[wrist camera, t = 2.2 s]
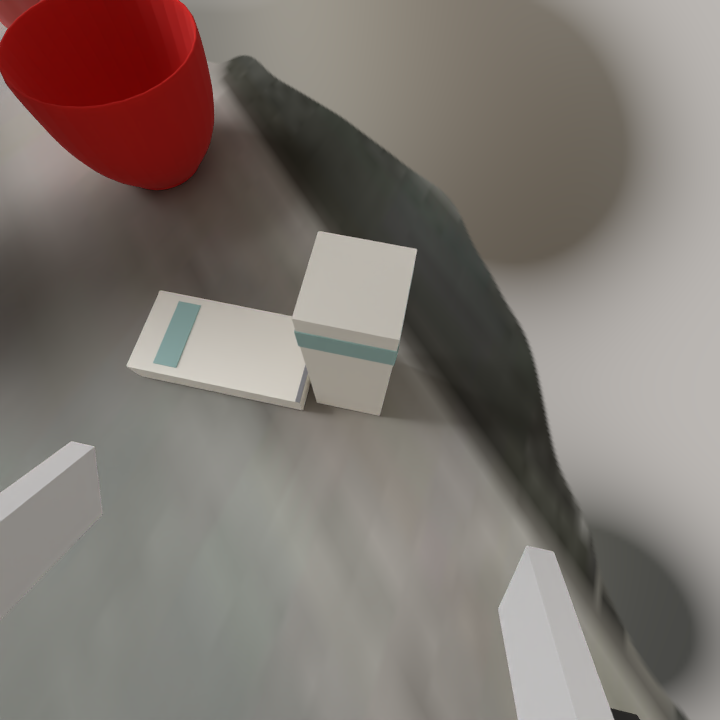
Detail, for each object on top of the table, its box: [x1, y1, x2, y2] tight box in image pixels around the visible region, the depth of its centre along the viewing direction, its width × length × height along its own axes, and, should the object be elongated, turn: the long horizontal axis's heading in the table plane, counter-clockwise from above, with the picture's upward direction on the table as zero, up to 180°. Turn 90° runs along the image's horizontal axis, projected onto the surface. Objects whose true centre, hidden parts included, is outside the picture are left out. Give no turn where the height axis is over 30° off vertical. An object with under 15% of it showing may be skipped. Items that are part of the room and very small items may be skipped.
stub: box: [292, 231, 417, 416], centre depth 24 cm, size 5×5×13 cm
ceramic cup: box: [0, 0, 214, 190], centre depth 33 cm, size 13×17×10 cm
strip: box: [126, 290, 311, 410], centre depth 29 cm, size 12×6×2 cm, turn 78°
